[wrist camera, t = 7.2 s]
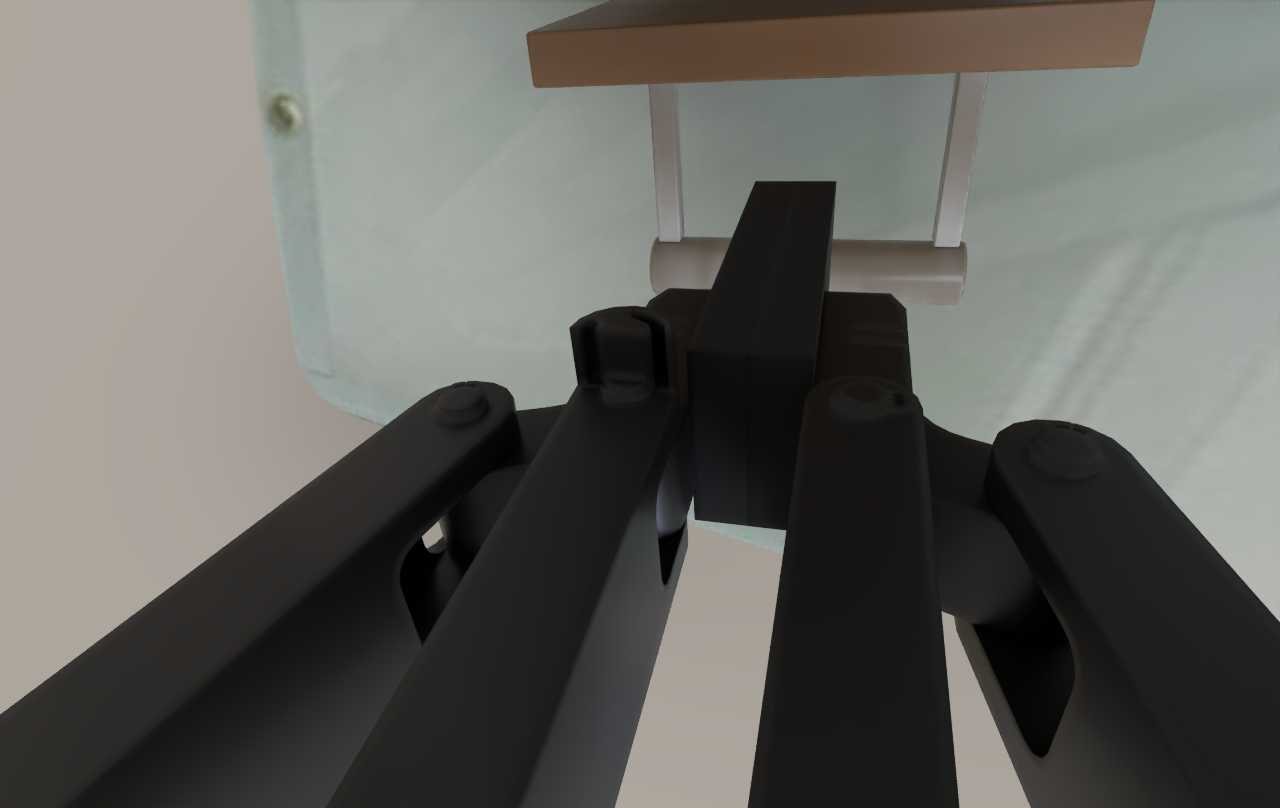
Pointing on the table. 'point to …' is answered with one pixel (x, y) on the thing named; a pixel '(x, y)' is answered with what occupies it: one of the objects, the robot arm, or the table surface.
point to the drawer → (823, 48)
